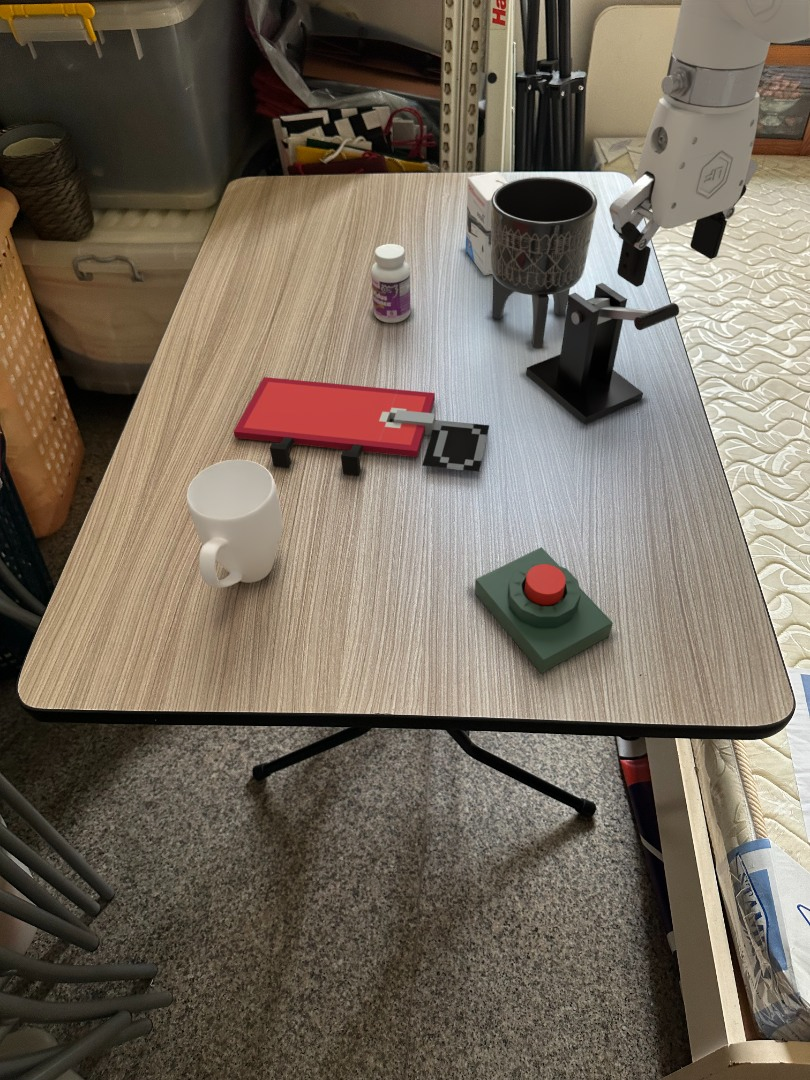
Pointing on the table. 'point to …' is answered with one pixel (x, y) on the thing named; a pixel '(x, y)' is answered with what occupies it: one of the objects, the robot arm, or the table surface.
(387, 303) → the pill bottle
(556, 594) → the button
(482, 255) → the ink box
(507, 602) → the button box
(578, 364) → the bracket
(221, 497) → the mug
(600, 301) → the tap lever
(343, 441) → the red board with handle
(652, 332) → the table surface
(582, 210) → the planter
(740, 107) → the robot arm
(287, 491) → the table surface
